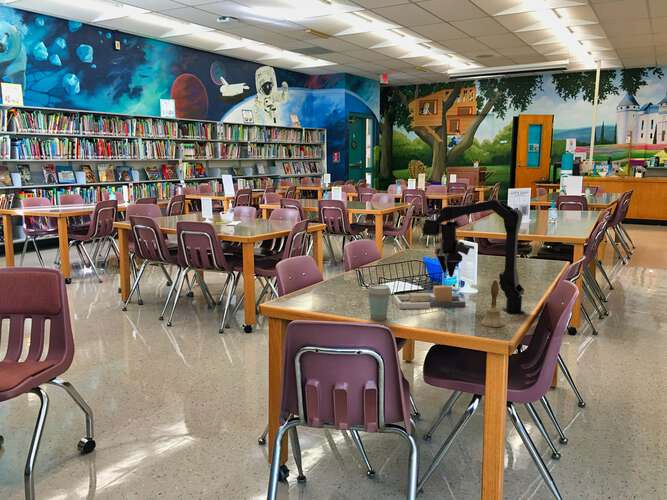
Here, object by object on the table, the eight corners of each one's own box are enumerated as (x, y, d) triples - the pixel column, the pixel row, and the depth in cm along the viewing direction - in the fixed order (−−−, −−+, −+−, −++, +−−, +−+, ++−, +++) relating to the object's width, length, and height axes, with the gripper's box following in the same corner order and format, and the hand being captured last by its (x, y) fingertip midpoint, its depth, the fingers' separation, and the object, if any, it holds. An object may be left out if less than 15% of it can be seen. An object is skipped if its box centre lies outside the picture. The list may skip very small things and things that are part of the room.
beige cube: (430, 305, 237) (430, 295, 236) (420, 305, 237) (421, 295, 236) (428, 302, 241) (428, 293, 240) (418, 302, 241) (419, 293, 240)
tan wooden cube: (420, 305, 237) (421, 295, 236) (411, 305, 236) (411, 295, 236) (418, 302, 241) (418, 293, 240) (409, 302, 240) (409, 293, 240)
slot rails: (465, 306, 234) (465, 302, 234) (428, 307, 233) (428, 302, 233) (457, 299, 245) (457, 295, 245) (422, 300, 244) (422, 296, 244)
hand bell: (486, 319, 216) (488, 277, 214) (508, 323, 211) (510, 280, 208) (476, 324, 210) (478, 281, 207) (498, 328, 205) (501, 284, 202)
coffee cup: (388, 314, 222) (389, 284, 220) (391, 321, 213) (392, 289, 211) (366, 314, 221) (366, 284, 219) (368, 321, 213) (368, 289, 211)
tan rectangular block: (452, 305, 237) (453, 288, 235) (431, 305, 236) (431, 288, 235) (448, 301, 242) (449, 285, 241) (427, 301, 242) (428, 285, 241)
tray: (429, 308, 232) (429, 303, 231) (399, 308, 231) (399, 303, 230) (421, 299, 246) (421, 294, 245) (393, 299, 245) (393, 294, 244)
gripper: (475, 239, 228) (474, 278, 230) (460, 233, 246) (459, 270, 249) (447, 240, 227) (446, 279, 229) (435, 234, 245) (434, 270, 248)
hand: (447, 274), depth 239 cm, fingers open, 9 cm apart
